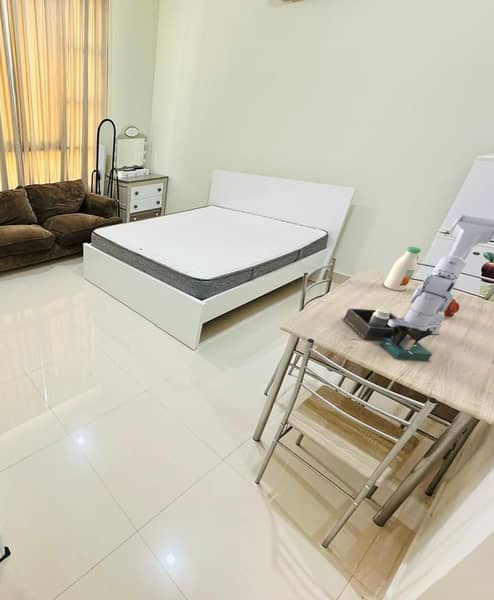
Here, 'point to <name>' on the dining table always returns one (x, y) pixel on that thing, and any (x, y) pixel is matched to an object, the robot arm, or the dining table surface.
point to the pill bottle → (379, 317)
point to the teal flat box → (406, 351)
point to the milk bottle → (403, 270)
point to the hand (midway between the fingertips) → (401, 344)
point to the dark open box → (360, 324)
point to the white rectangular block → (407, 342)
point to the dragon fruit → (451, 308)
